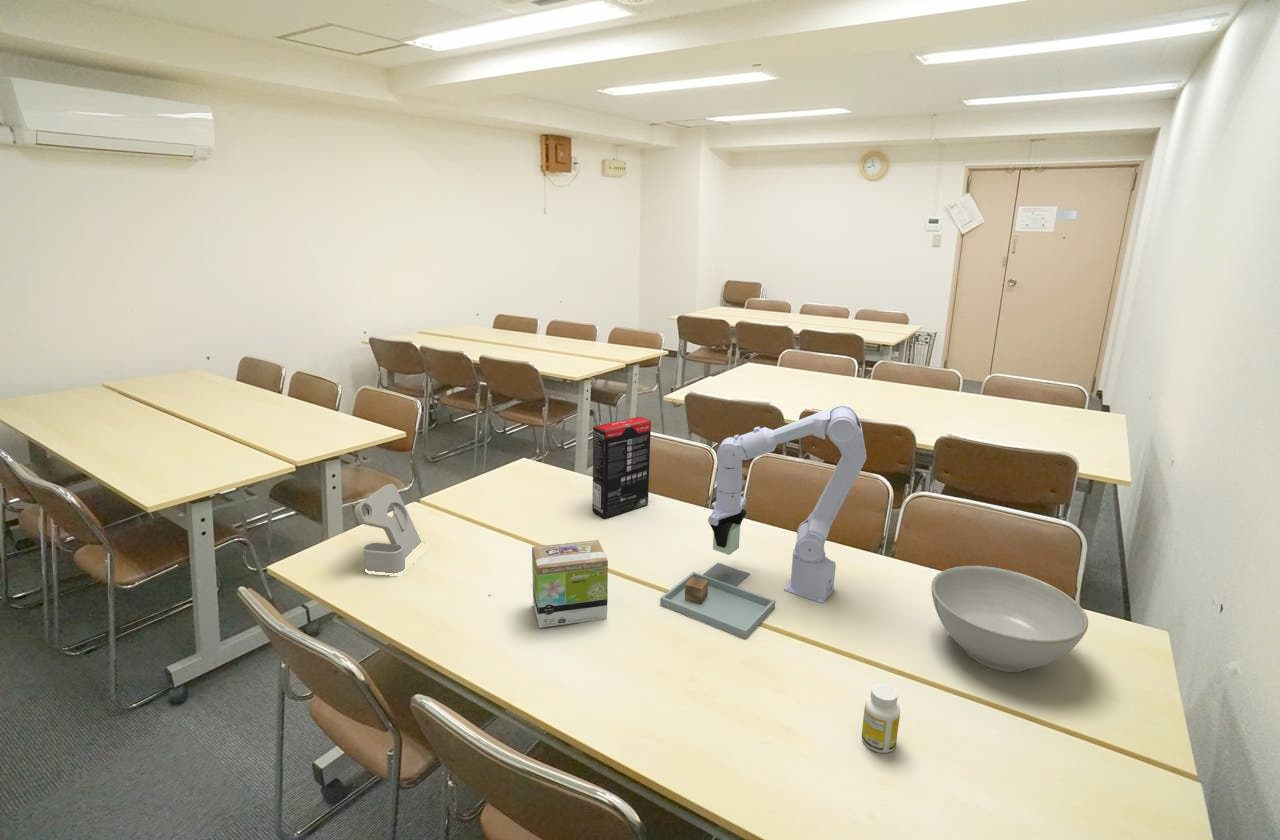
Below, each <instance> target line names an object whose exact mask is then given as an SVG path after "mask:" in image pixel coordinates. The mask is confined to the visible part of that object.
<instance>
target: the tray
mask: <svg viewBox="0 0 1280 840" xmlns="http://www.w3.org/2000/svg"><path fill="white" fill-rule="evenodd" d="M691 577H696V578H700V579H704V580H708V596H707V598H706V599H705V600H704V602H703V603H702V605H700V604H696V603H693V602H689V601H685V584H686V583H687V582H688V581H689V579H690V578H691ZM659 600H660V601H659V606H661V607H664V608H666V609H669V610H672V611H674V612H677V613H679V614H682V615H684V616H687V617H689V618H692V619H694V620H696V621H699V622H702V623H704V624H706V625H709V626H711V627H715V628H716V629H719V630H722V631H724V632H727V633H730V634H731V635H734V636H737V637H739V638H741V639H745V640H747V639H748V637H750V635H751V634H752V633H753V632H754V631H755V630H756V628H757V627H759V626H760V625H761V624H762V622H763V621H764V620H766V618H767V617H768V616H769V615H770V614H772V611H774V610H775V609H776V600H775V599H772V598H768V597H767V596H763V595H761V594H758V593H755V592H752V591H749V590H746V589H744V588H741V587H738V586H737V587H735V586H733V585H730V584H727V583H724V582H721V581H718V580H716V579H713V578H710V577H707V576H704V575H703V574H701V573H698V572H695V571H693V572H691V573H690V574H688V575H687V576H686V577H685V578H683V580H681V581H680V582H678V583H677V584H676V585H675V586H673V587H672V588H671V589H670V590H668V591H666V592H665V593H664V594H663V595H662V596H661V597H659Z"/></svg>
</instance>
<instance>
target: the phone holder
mask: <svg viewBox="0 0 1280 840" xmlns="http://www.w3.org/2000/svg"><path fill="white" fill-rule="evenodd" d="M389 507H390V508H391V510H392V513H393V514H392V516H389V515H388V511H389ZM362 508H363V510H364V512H365V516H364V514H363V511H362ZM354 515H355V517H356V520H357V521H358V523H359V524H361V525H365V526H369V527H375V528H379V529H382V530H383V531H384V532H385V534H386V536H387V539H388V541H389V543H385V542H384V543H383V542H371V543H368V544H366V545H364V546H363V548H362V551H363V558H364V567H365V568H366V569H367V570H368V571H375V572H385V573H393V574H394V573H398V572H401V571H403V570H404V569H405V558H406V557H407V556H408V555H409V554H410V553H411V552H412V550H413V549H415V548H416V547H417V546H418V545H419V544H420V543H421V542H422V540H421V538H420V535H419V533H418V531H417V529H416V527H415V525H414V522H413V520H412V518H411V516H410V514H409V512H408V509H407V507H406V505H405V503H404V501H403V498H402V497H401V495H400V493H399V489H398V488H397V486H396V485H395V484H394V483H388V484H384V485H383V486H382V487H380V488H379V489H377V490H376V491H375V492H373V493H371V494H370V495H368V496H367V497H366V498H365V499H363V500H362V501H360V502H359V503H358V504H356V506H355V507H354ZM365 568H364V569H365Z"/></svg>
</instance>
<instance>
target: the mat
mask: <svg viewBox="0 0 1280 840" xmlns="http://www.w3.org/2000/svg"><path fill="white" fill-rule="evenodd" d="M702 575H704V576H707V577H710V578H713V579H716V580H718V581H721V582H724V583H727V584H730V585H733V586H735V587H738V586H740V585H741V583H742V582H744V580H746V579H747V578H748V577H749V576H750V575H751V573H750V572H746V571H744V570H740V569H739V568H735V567H732V566H729V565H725V564H723V563H719V562H717V563H715V564H714V565H712V566H711V568H709V569H708V570H707V571H705V572H704V573H703V574H702Z"/></svg>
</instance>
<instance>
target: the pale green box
mask: <svg viewBox="0 0 1280 840" xmlns="http://www.w3.org/2000/svg"><path fill="white" fill-rule="evenodd" d="M740 533H741V525H738V524H735V523H733V524H732V526H731V528H730V530H729V534H728V539H727V544H726V547H725V548H722V547H719V546H717V544H716V540H715V536H714V535H712V536H713V542H712V550H713V551H716V552H719V553H722V554H725V555H727V556H731V555H732V554H733V553H734V552H735V551H737V550H738V549H739V548H740V536H741V535H740Z"/></svg>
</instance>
